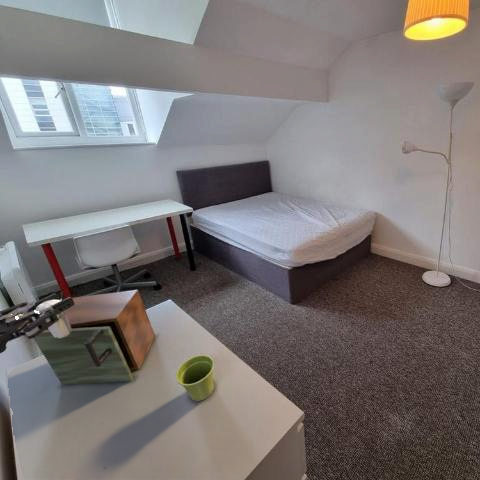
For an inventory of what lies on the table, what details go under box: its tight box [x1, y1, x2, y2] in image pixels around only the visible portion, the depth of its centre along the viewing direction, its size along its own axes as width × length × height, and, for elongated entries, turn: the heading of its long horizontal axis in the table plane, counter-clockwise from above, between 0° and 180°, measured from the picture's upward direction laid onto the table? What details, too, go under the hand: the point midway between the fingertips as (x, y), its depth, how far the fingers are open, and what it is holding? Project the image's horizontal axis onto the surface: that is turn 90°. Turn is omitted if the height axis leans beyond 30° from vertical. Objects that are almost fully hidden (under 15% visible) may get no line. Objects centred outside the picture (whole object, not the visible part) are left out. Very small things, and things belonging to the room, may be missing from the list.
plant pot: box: [175, 354, 215, 402], centre depth 73 cm, size 9×9×9 cm
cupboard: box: [46, 289, 156, 371], centre depth 83 cm, size 14×20×20 cm
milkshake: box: [35, 291, 72, 339], centre depth 62 cm, size 5×5×10 cm
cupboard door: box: [32, 327, 134, 386], centre depth 72 cm, size 6×20×20 cm, turn 92°
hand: (64, 299), depth 63 cm, fingers closed on milkshake, 4 cm apart
